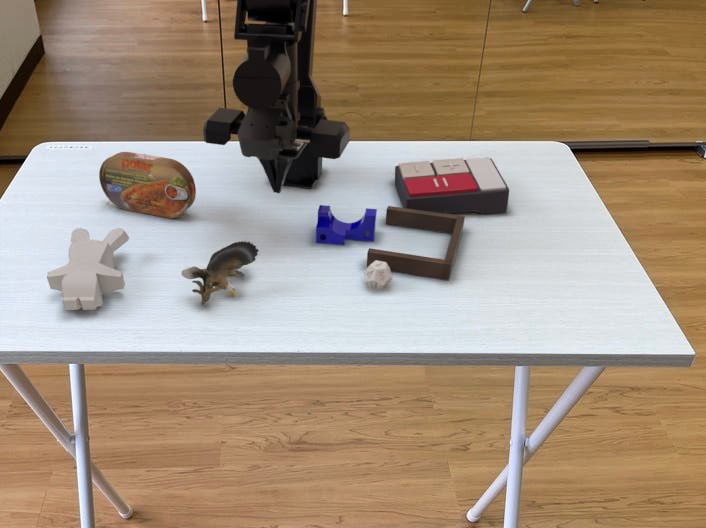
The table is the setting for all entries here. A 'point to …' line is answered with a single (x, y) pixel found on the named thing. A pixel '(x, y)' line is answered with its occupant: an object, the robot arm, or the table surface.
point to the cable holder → (344, 227)
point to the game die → (378, 274)
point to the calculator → (452, 186)
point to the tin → (147, 184)
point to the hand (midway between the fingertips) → (277, 191)
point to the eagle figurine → (222, 269)
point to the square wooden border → (414, 262)
